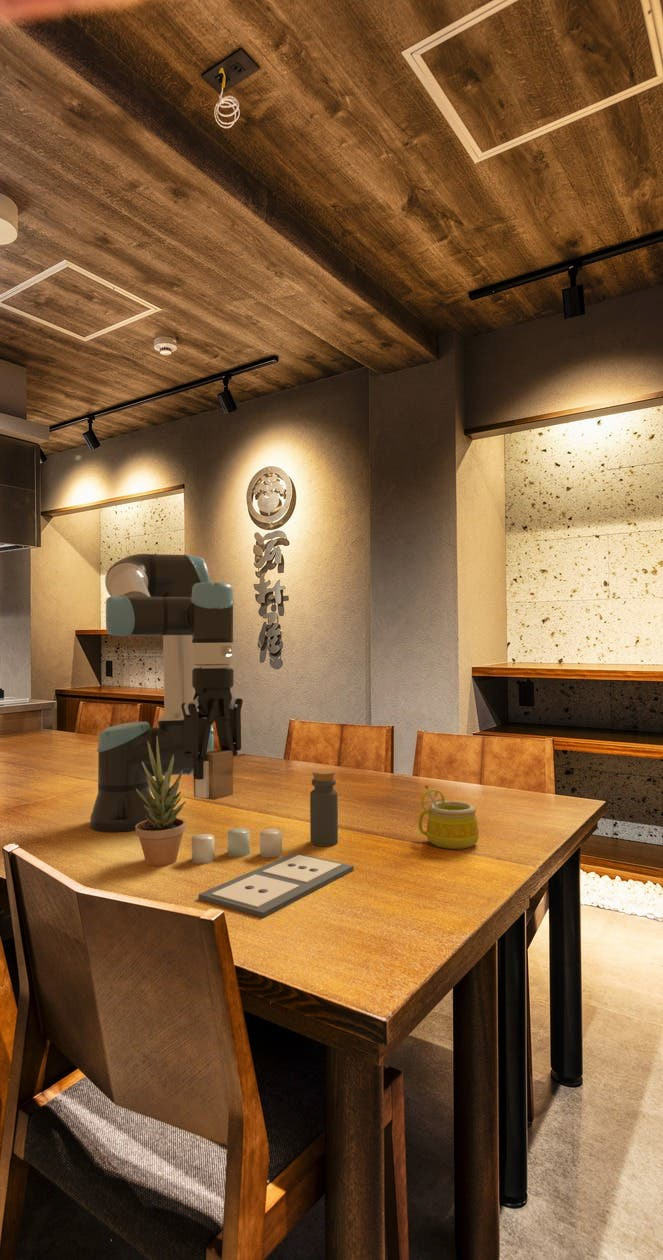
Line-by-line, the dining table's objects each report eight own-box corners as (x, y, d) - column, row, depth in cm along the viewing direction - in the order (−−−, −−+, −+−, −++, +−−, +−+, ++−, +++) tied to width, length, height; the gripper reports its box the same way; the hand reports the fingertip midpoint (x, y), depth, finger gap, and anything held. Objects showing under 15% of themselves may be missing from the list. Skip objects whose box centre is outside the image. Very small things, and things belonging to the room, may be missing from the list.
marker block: (193, 796, 123) (193, 752, 124) (213, 791, 128) (213, 749, 128) (213, 800, 121) (213, 755, 121) (233, 794, 125) (232, 751, 125)
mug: (484, 839, 145) (483, 783, 145) (472, 854, 135) (471, 794, 135) (426, 833, 150) (425, 778, 150) (410, 847, 140) (410, 788, 140)
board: (198, 898, 113) (198, 892, 113) (294, 856, 134) (293, 851, 134) (263, 917, 105) (263, 910, 105) (353, 870, 126) (353, 864, 126)
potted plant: (132, 857, 135) (132, 733, 135) (180, 850, 139) (180, 730, 139) (139, 872, 126) (138, 739, 126) (190, 865, 129) (189, 736, 130)
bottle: (335, 847, 140) (334, 774, 140) (307, 845, 141) (307, 773, 142) (340, 839, 146) (339, 769, 146) (313, 837, 147) (313, 768, 147)
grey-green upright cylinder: (223, 854, 136) (223, 831, 136) (237, 848, 140) (237, 826, 140) (239, 858, 134) (239, 835, 134) (254, 852, 138) (254, 829, 138)
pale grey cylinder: (186, 861, 132) (186, 838, 132) (203, 855, 136) (202, 832, 136) (203, 865, 130) (203, 841, 130) (219, 858, 133) (219, 836, 134)
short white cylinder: (255, 855, 135) (255, 832, 136) (269, 849, 139) (269, 827, 139) (272, 859, 133) (272, 836, 133) (286, 853, 137) (286, 830, 137)
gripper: (190, 668, 115) (191, 806, 115) (260, 665, 130) (261, 787, 129) (160, 668, 119) (161, 800, 119) (232, 665, 134) (232, 783, 134)
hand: (213, 793), depth 124 cm, fingers closed on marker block, 5 cm apart
